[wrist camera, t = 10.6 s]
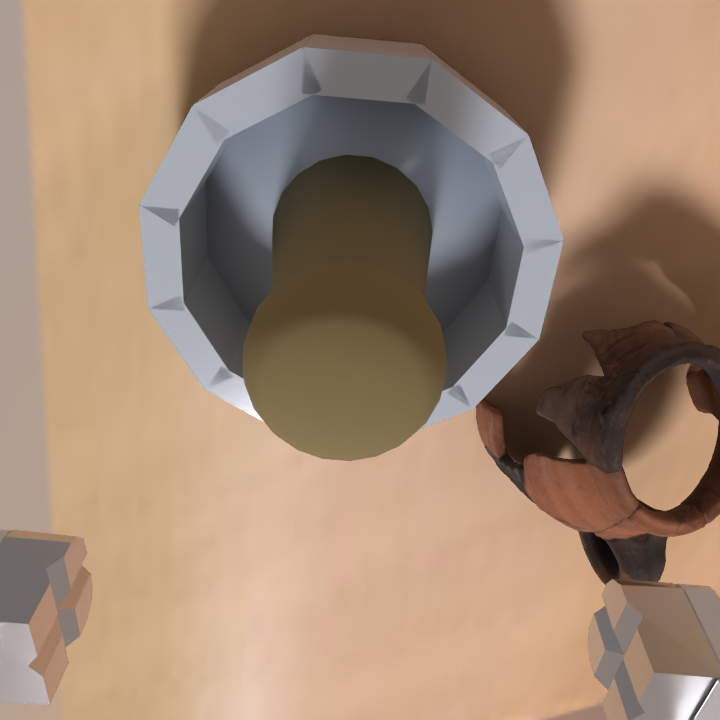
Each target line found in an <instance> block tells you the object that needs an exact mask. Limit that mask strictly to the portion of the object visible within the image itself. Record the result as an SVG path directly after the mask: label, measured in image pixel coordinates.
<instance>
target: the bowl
mask: <svg viewBox="0 0 720 720" xmlns="http://www.w3.org/2000/svg"><path fill="white" fill-rule="evenodd" d="M342 155H356V156H366V157H374V158H376V159H378V160H380V161H383V162H385V163H387V164H389V165H392V166H394V167H396V168H398V169H399V170H400V171H401V172H402V173H403V174H404V175H405V176H406V177H408V178H409V179H410V180H411V181H412V182H413V183H414V184H415V185H416V186H417V188H418V189H419V191H420V193H421V195H422V197H423V198H424V200H425V202H426V204H427V206H428V208H429V213H430V219H431V225H432V230H433V234H432V242H431V249H430V257H429V265H428V272H427V280H426V288H425V296H424V298H425V299H426V301H427V303H428V304H429V306H430V308H431V309H432V311H433V313H434V314H435V316H436V318H437V319H438V321H439V323H440V325H441V330H442V334H443V339H444V344H445V350H446V355H447V361H448V364H447V369H446V375H445V380H444V385H443V390H442V394H441V398H440V401H439V402H438V404H437V406H436V407H435V409H434V411H433V412H432V414H431V416H430V417H429V419H428V421H427V423H426V424H425V425H423V426H422V427H421V428H424V427H426V426H429V425H432V424H434V423H437V422H440V421H443V420H445V419H448V418H451V417H453V416H456V415H459V414H462V413H464V412H467V411H470V410H472V409H474V407H475V406H476V405H477V404H478V403H479V402H480V401H481V400H482V399H483V398H484V397H485V396H486V395H487V394H488V393H489V392H490V391H491V390H492V389H493V387H494V386H495V385H496V384H497V383H498V382H499V381H500V380H501V379H502V378H503V377H504V376H505V375H506V374H507V373H508V372H509V371H510V370H511V369H512V367H513V366H514V365H515V364H516V363H517V362H518V361H519V360H520V359H521V358H522V357H523V356H524V355H525V354H526V353H527V352H528V351H529V350H530V349H531V347H532V346H533V345H534V344H535V343H536V342H537V341H538V340H539V339H540V335H541V331H542V327H543V323H544V319H545V314H546V310H547V306H548V302H549V298H550V294H551V290H552V286H553V282H554V278H555V274H556V270H557V266H558V262H559V258H560V254H561V250H562V246H563V242H564V241H563V240H564V239H563V236H562V233H561V230H560V227H559V224H558V221H557V218H556V215H555V212H554V209H553V206H552V203H551V200H550V197H549V194H548V191H547V188H546V185H545V182H544V179H543V176H542V173H541V170H540V167H539V164H538V161H537V158H536V155H535V152H534V149H533V146H532V143H531V140H530V137H529V135H528V134H527V133H526V132H525V131H524V130H523V129H522V127H521V126H520V125H519V124H518V123H517V122H516V121H515V120H514V119H513V118H512V117H511V116H510V115H509V114H508V113H507V112H506V111H505V110H504V109H503V108H502V107H501V106H500V105H498V104H497V103H496V102H494V101H493V100H492V99H491V98H489V97H488V96H487V95H486V94H484V93H483V92H482V91H481V90H479V89H478V88H477V87H475V86H474V85H473V84H472V83H470V82H469V81H468V80H467V79H465V78H464V77H463V76H462V75H460V74H459V73H458V72H456V71H455V70H454V69H453V68H451V67H450V66H449V65H448V64H446V63H445V62H444V61H443V60H441V59H440V58H439V57H437V56H436V55H435V54H434V53H432V52H431V51H430V50H429V49H427V48H426V47H425V46H424V45H421V44H416V43H406V42H395V41H384V40H373V39H362V38H351V37H341V36H330V35H319V34H312V35H310V36H308V37H306V38H304V39H303V40H301V41H299V42H297V43H295V44H293V45H291V46H289V47H288V48H286V49H284V50H282V51H280V52H278V53H276V54H274V55H273V56H271V57H269V58H267V59H265V60H263V61H261V62H259V63H257V64H256V65H254V66H252V67H250V68H248V69H246V70H244V71H242V72H241V73H239V74H237V75H235V76H233V77H231V78H229V79H227V80H225V81H224V82H222V83H220V84H219V85H217V86H216V87H215V88H214V89H212V90H211V91H210V92H209V93H207V94H206V95H205V96H204V97H202V98H201V99H200V100H199V101H198V102H196V103H195V104H194V105H193V106H192V107H191V109H190V111H189V113H188V115H187V117H186V119H185V120H184V122H183V124H182V126H181V128H180V130H179V132H178V133H177V135H176V137H175V139H174V141H173V143H172V145H171V147H170V148H169V150H168V152H167V154H166V156H165V158H164V160H163V161H162V163H161V165H160V167H159V169H158V171H157V173H156V174H155V176H154V178H153V180H152V182H151V184H150V186H149V188H148V189H147V191H146V193H145V195H144V197H143V199H142V201H141V202H140V204H139V211H140V223H141V234H142V246H143V257H144V269H145V281H146V292H147V304H148V308H149V309H148V310H149V311H150V312H151V314H152V315H153V317H154V318H155V320H156V321H157V322H158V324H159V325H160V327H161V328H162V330H163V331H164V332H165V334H166V335H167V337H168V338H169V340H170V341H171V342H172V344H173V345H174V347H175V348H176V350H177V351H178V352H179V354H180V355H181V357H182V358H183V360H184V361H185V362H186V364H187V365H188V367H189V368H190V370H191V371H192V372H193V374H194V375H195V377H196V378H197V380H198V381H199V382H200V384H201V385H202V387H203V388H204V389H205V390H206V391H208V392H210V393H212V394H214V395H215V396H217V397H219V398H221V399H223V400H225V401H226V402H228V403H230V404H232V405H234V406H236V407H237V408H239V409H241V410H243V411H245V412H247V413H248V414H250V415H252V416H254V417H256V418H258V419H260V420H261V421H263V420H262V418H261V417H260V416H259V415H258V413H257V412H256V411H255V410H254V408H253V405H252V403H251V400H250V397H249V394H248V392H247V389H246V386H245V383H244V377H243V343H244V341H245V338H246V335H247V332H248V330H249V327H250V325H251V322H252V320H253V317H254V315H255V312H256V310H257V307H258V306H259V305H260V304H261V303H262V302H263V300H264V299H265V298H266V297H267V296H268V295H269V294H270V293H271V292H272V290H273V264H272V228H273V215H274V212H275V210H276V207H277V204H278V202H279V199H280V196H281V194H282V192H283V191H284V190H285V189H286V188H287V186H288V185H289V184H290V183H291V182H292V180H293V179H294V178H295V177H296V176H297V174H299V173H300V172H302V171H304V170H305V169H307V168H309V167H310V166H312V165H313V164H315V163H317V162H318V161H320V160H324V159H329V158H333V157H338V156H342ZM263 422H264V421H263ZM421 428H420V429H421Z"/></svg>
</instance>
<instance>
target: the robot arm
mask: <svg viewBox="0 0 720 720" xmlns="http://www.w3.org/2000/svg"><path fill="white" fill-rule="evenodd" d="M86 555H87V551H86V547H85V543H84V538H81V537H76V536H66V535H57V534H48V533H38V532H29V531H19V530H7V529H0V702H7V703H27V704H49V705H50V704H51V701H52V699H53V697H54V695H55V692H56V690H57V688H58V686H59V683H60V681H61V679H62V677H63V674H64V672H65V670H66V667H67V665H68V663H69V662H68V657H67V653H66V648H65V647H66V646H68V645H69V644H70V643H72V642H73V641H74V640H76V639H77V638H78V637H79V636H80V635H81V633H82V631H83V628H84V626H85V623H86V621H87V619H88V614H89V610H90V606H91V601H92V579H91V573H89V572H88V571H87V570H86V569H85V568H84V567H83V566H82V563H83V561H84V559H85V557H86ZM602 597H603V600H604V603H605V607H603V608H602V609H600V610H599V611H597V612H596V613H594V615H593V618H592V620H591V623H590V626H589V632H588V651H589V659H590V663H591V667H592V670H593V674H594V676H595V677H596V678H597V679H598V680H599V681H600V682H601V683H602V684H603V685H604V686H605V688H606V689H607V690H608V692H607V694H606V696H605V698H604V700H603V703H602V705H603V708H604V711H605V715H606V718H607V720H720V598H719V596H718V594H717V593H716V592H715V591H714V590H713V589H712V588H711V587H710V586H699V585H686V584H673V583H664V582H650V581H635V580H620V579H612V580H610V581H609V582H608V583H607V584H606V586H605V588H604V591H603V593H602Z"/></svg>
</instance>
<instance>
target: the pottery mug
mask: <svg viewBox="0 0 720 720" xmlns="http://www.w3.org/2000/svg"><path fill="white" fill-rule="evenodd" d="M582 337H583V338H584V339H585V340H586V341H587V342H588V343H589V344H590V345H591V347H592V348H593V350H594V352H595V355H596V357H597V359H598V361H599V363H600V366H601V367H602V370H603V373H604V376H602V377H600V376H591V375H586V376H583V377H580V378H576V379H574V380H572V381H570V382H568V383H566V384H564V385H563V386H560V387H553V388H549V389H547V390H546V391H545V392H544V393H543V395H542V396H541V398H540V400H539V402H538V404H537V406H536V413H537V414H538V415H540V416H542V417H545V418H546V419H548V420H550V421H553V422H555V423H556V426H557V427H558V429H559V430H560V431H561V433H562V434H563V435H564V436H566V437H567V438H568V439H569V440H570V441H571V442H572V443H573V445H574V446H575V447H576V448H577V450H578V451H579V452H580V453H581V454H582V456H583V457H584V458H583V459H564V458H559V457H555V456H552V455H549V454H546V453H541V452H538V453H534V454H529V455H527V456H526V457H525V458H524V465H522V464H519V463H517V462H514V461H513V459H512V458H511V457H510V456H509V455H508V454H507V450H506V444H505V439H504V429H503V415H502V412H501V411H500V410H498V409H495V408H492V407H491V406H490V405H489V404H488V403H487V402H486V401H484V400H481V401H480V402H479V403H478V404H477V405H476V419H477V425H478V430H479V433H480V436H481V439H482V441H483V443H484V445H485V448H486V450H487V452H488V453H489V455H490V456H491V457H492V458H493V459H494V460H495V462H496V464H497V466H498V467H499V468H500V470H501V471H502V472H503V473H504V474H505V475H507V476H508V477H509V478H510V480H511V481H512V482H513V483H514V484H515V485H516V486H517V487H518V489H519V490H520V491H521V492H523V493H524V494H525V495H526V496H527V497H528V498H529V499H530V500H531V501H532V502H533V503H535V504H536V505H537V506H538V507H539V508H540V509H541V510H542V511H544V512H546V513H547V514H548V515H550V516H551V517H553V518H554V519H556V520H558V521H560V522H561V523H563V524H565V525H566V526H568V527H570V528H573V529H575V530H577V531H579V535H580V538H581V542H582V545H583V547H584V550H585V553H586V555H587V557H588V559H589V561H590V563H591V565H592V567H593V569H594V571H595V572H596V574H597V575H598V577H599V578H600V579H601V581H602V582H603V583H604V584H605V585H606V584H607V583H608V582H609V581H610V580H612V579H620V580H635V581H650V582H658V581H659V580H660V578H661V575H662V573H663V571H664V567H665V562H666V556H665V550H666V541H667V538H668V537H670V536H671V537H674V536H680V535H685V534H689V533H691V532H694V531H696V530H698V529H700V528H703V527H704V526H705V525H706V524H707V523H710V522H711V521H713V520H714V519H715V518H716V517H717V516H718V515H719V514H720V349H719V348H717V347H714V346H712V345H705V343H704V342H702V341H701V340H700V339H699V338H698V337H697V336H696V335H695V334H693V333H692V332H691V331H689V330H688V329H686V328H683V327H681V326H680V325H677V324H675V323H672V322H665V323H663V324H661V323H660V322H657V321H648V322H644V323H641V324H639V325H636V326H632V327H630V328H624V329H618V330H594V331H586V332H584V333H583V334H582ZM685 363H690V364H695V365H697V366H699V367H701V368H702V369H701V370H699V371H696V372H693V373H691V374H689V375H688V376H687V386H688V390H689V394H690V396H691V398H692V401H693V404H694V405H695V407H696V409H697V410H698V411H700V412H703V413H711V414H713V415H714V416H715V417H716V418H717V419H718V420H719V426H718V437H717V441H716V446H715V450H714V453H713V456H712V460H711V462H710V464H709V467H708V469H707V471H706V472H705V474H704V476H703V477H702V479H701V480H700V482H699V484H698V485H697V487H696V488H695V489H694V491H693V492H692V493H691V494H690V495H689V496H688V497H687V498H686V499H685V500H684V501H683V502H682V503H681V504H680V505H679V506H677V507H675V508H673V509H671V510H668V511H661V510H657V509H654V508H652V507H650V506H648V505H647V504H645V503H643V502H642V501H640V500H638V499H637V498H636V497H635V495H634V494H633V493H632V491H631V488H630V486H629V484H628V481H627V478H626V475H625V472H624V469H623V467H622V458H623V453H622V451H623V437H624V432H625V428H626V425H627V422H628V419H629V417H630V414H631V411H632V408H633V407H634V404H635V402H636V401H637V398H638V397H639V395H640V394H641V393H642V392H643V390H644V389H645V387H646V386H647V385H648V384H649V383H650V382H651V381H652V380H654V378H656V377H657V376H658V375H660V374H662V373H663V372H665V371H666V370H668V369H670V368H672V367H674V366H676V365H680V364H685Z"/></svg>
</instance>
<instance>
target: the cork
mask: <svg viewBox="0 0 720 720" xmlns="http://www.w3.org/2000/svg"><path fill="white" fill-rule="evenodd" d="M432 234H433V230H432V225H431V219H430V213H429V208H428V206H427V204H426V202H425V200H424V198H423V197H422V195H421V193H420V191H419V189H418V188H417V186H416V185H415V184H414V183H413V182H412V181H411V180H410V179H409V178H408V177H406V176H405V175H404V174H403V173H402V172H401V171H400V170H399V169H398V168H396V167H394V166H392V165H389V164H387V163H385V162H383V161H380V160H378V159H376V158H374V157H366V156H356V155H342V156H338V157H333V158H329V159H324V160H320V161H318V162H317V163H315V164H313V165H312V166H310V167H309V168H307V169H305V170H304V171H302V172H300V173H299V174H297V176H296V177H295V178H294V179H293V180H292V182H291V183H290V184H289V185H288V186H287V188H286V189H285V190H284V191H283V192H282V194H281V196H280V199H279V202H278V204H277V207H276V210H275V212H274V215H273V228H272V264H273V290H272V292H271V293H270V294H269V295H268V296H267V297H266V298H265V299H264V300H263V302H262V303H261V304H260V305H259V306H258V307H257V310H256V312H255V315H254V317H253V320H252V322H251V325H250V327H249V330H248V332H247V335H246V338H245V341H244V343H243V377H244V383H245V386H246V389H247V392H248V394H249V397H250V400H251V403H252V405H253V408H254V410H255V411H256V412H257V413H258V415H259V416H260V417H261V418H262V420H263V421H264V422H265V423H266V425H267V426H268V427H269V428H270V429H271V431H272V432H273V433H275V434H276V435H277V436H278V437H279V438H281V439H282V440H284V441H285V442H287V443H288V444H290V445H291V446H293V447H294V448H296V449H297V450H299V451H302V452H305V453H308V454H311V455H314V456H317V457H320V458H322V459H332V460H345V461H352V460H358V459H364V458H370V457H376V456H378V455H380V454H382V453H385V452H387V451H389V450H391V449H393V448H396V447H398V446H400V445H401V444H402V443H404V442H405V441H406V440H407V439H408V438H410V437H411V436H412V435H413V434H414V433H415V432H417V431H418V430H419V429H420V428H421V427H422V426H423V425H425V424H426V423H427V421H428V419H429V417H430V416H431V414H432V412H433V411H434V409H435V407H436V406H437V404H438V402H439V401H440V398H441V394H442V390H443V385H444V380H445V375H446V369H447V364H448V361H447V355H446V350H445V344H444V339H443V334H442V330H441V325H440V323H439V321H438V319H437V318H436V316H435V314H434V313H433V311H432V309H431V308H430V306H429V304H428V303H427V301H426V299H425V298H424V296H425V288H426V280H427V272H428V265H429V257H430V249H431V242H432Z"/></svg>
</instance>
